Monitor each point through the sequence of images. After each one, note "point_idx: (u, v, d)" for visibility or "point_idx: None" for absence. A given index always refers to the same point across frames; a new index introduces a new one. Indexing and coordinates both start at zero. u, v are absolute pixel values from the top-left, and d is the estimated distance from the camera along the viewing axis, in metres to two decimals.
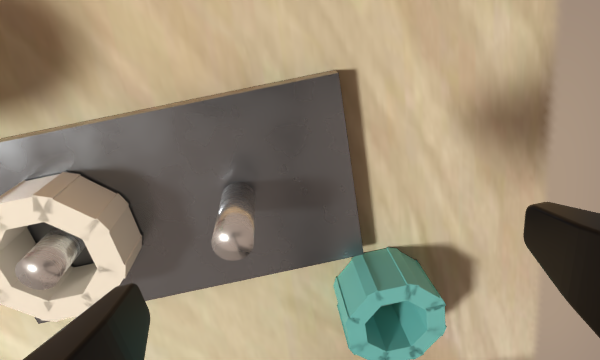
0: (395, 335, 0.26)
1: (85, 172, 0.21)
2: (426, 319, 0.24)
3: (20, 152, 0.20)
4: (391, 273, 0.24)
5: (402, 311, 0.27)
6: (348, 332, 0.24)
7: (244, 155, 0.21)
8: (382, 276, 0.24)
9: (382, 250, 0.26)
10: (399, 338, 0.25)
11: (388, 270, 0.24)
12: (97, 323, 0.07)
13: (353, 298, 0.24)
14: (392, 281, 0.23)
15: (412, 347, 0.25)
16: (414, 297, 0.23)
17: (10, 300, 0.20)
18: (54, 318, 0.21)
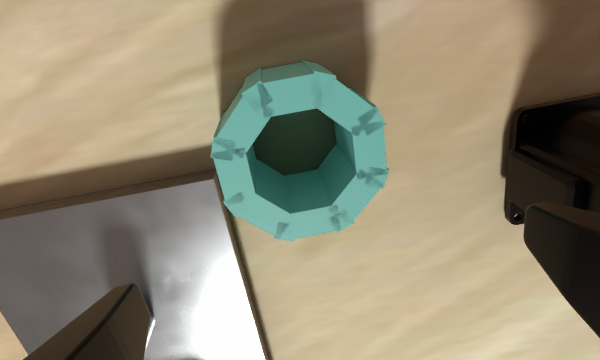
0: (347, 141, 0.15)
1: None
2: (294, 111, 0.13)
3: None
4: None
5: None
6: (305, 235, 0.15)
7: None
8: None
9: None
10: (348, 140, 0.15)
11: None
12: (97, 323, 0.07)
13: None
14: None
15: (355, 130, 0.14)
16: (240, 142, 0.13)
17: None
18: None
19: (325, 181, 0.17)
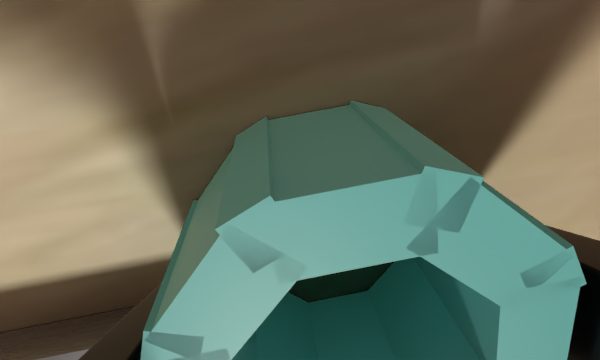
0: (462, 291, 0.07)
1: None
2: (358, 262, 0.05)
3: None
4: None
5: None
6: None
7: None
8: None
9: None
10: (471, 296, 0.06)
11: None
12: None
13: None
14: None
15: (510, 298, 0.05)
16: (214, 339, 0.05)
17: None
18: None
19: (395, 341, 0.08)
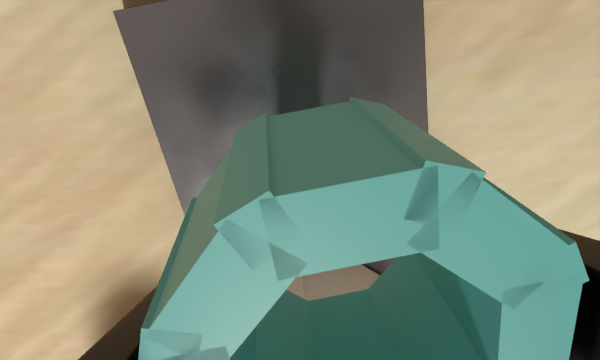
0: (463, 289, 0.07)
1: None
2: (359, 258, 0.05)
3: None
4: None
5: None
6: None
7: None
8: None
9: None
10: (472, 293, 0.06)
11: None
12: None
13: None
14: None
15: (512, 295, 0.05)
16: (214, 335, 0.05)
17: None
18: None
19: (396, 339, 0.08)
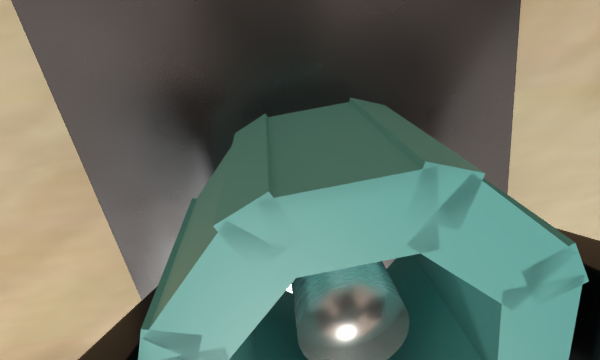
0: (462, 289, 0.07)
1: None
2: (358, 259, 0.05)
3: None
4: None
5: None
6: None
7: None
8: None
9: None
10: (472, 294, 0.06)
11: None
12: None
13: None
14: None
15: (511, 296, 0.05)
16: (213, 337, 0.05)
17: None
18: None
19: None
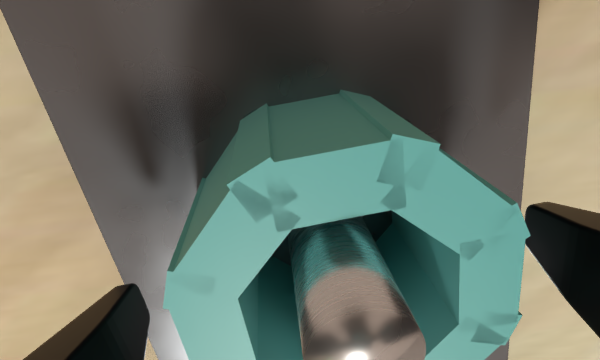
0: (433, 250, 0.08)
1: None
2: (342, 215, 0.06)
3: None
4: None
5: None
6: None
7: None
8: None
9: None
10: (440, 252, 0.08)
11: None
12: (97, 323, 0.07)
13: None
14: None
15: (467, 248, 0.07)
16: (225, 278, 0.06)
17: None
18: None
19: None
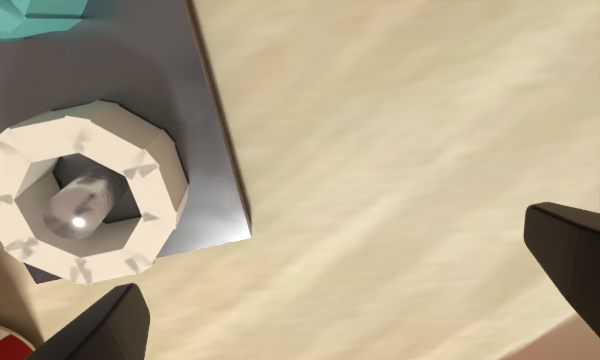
0: None
1: None
2: None
3: None
4: None
5: None
6: None
7: None
8: None
9: None
10: None
11: None
12: (97, 323, 0.07)
13: None
14: None
15: None
16: None
17: (144, 253, 0.17)
18: (171, 215, 0.16)
19: None
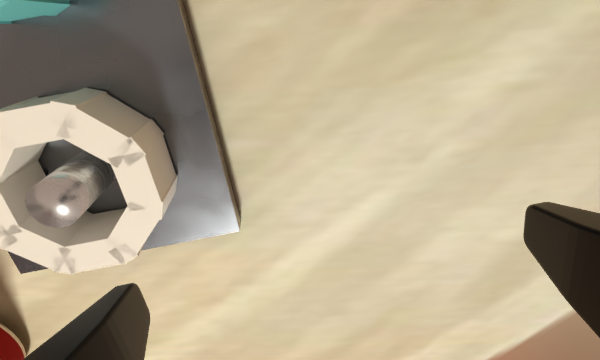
0: None
1: None
2: None
3: None
4: None
5: None
6: None
7: None
8: None
9: None
10: None
11: None
12: (97, 323, 0.07)
13: None
14: None
15: None
16: None
17: (130, 244, 0.16)
18: (157, 205, 0.16)
19: None
